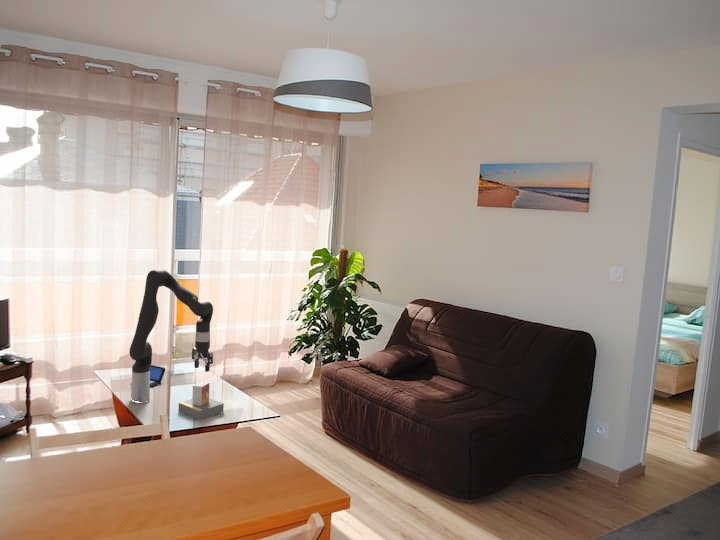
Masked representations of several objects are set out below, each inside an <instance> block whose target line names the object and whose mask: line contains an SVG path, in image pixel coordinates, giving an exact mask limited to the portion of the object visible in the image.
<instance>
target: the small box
mask: <svg viewBox="0 0 720 540" xmlns="http://www.w3.org/2000/svg"><path fill="white" fill-rule="evenodd" d="M210 384H211V383H210V382H206V381H199V382H198V383H195V384H194V385H192V405H198V406H202V405H204V404H206V403H207V402H209V398H210Z"/></svg>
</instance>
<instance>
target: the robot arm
mask: <svg viewBox="0 0 720 540" xmlns="http://www.w3.org/2000/svg"><path fill="white" fill-rule="evenodd" d="M160 287H161V288H162V287H165V288H166V289H169V290H171V291H172V293H174V295H175V297H176V299H177V300H178V301H179V302H181V303H182V304H184V305H185V306H187V307H188V308H189V309H190V311H191V312H192V313H193V315H195V316H197V317H200V318H199V319H198V320H197V321H196V322H195V337H194V338H195V340H194V343H195V344H194V347H193V348H192V349H191V350H192V351H191V360H193V361H194V363H193V364H194V368H195V369H198V368H199V367H200V359H201V360H203V361H202V362H204V364H205V365H204V367H205V368H204V372H206V373H207V372H210V369H211V367H210V365H212V364H213V363H214V354H213V352H209V349H211V320H212V318H213V313H214V306H213V304H212V303H211V302H210V301H208V300H207V301H202V302H200V301H199V297H198V295H196V294H195V293H193V292H192V291H190V290H189V289H187V288H186V287H185V286H183V285H182V284H181V283H180V282H179V281H178V280H177V279H176V278H175V277H174V276H173V275H172V274H171V273H170V272H169V271H167V270H165V269H161V268H160V269H153V270H150V271H149V272H148V274H147V275H146V281H145V287H144V295H143V298H142V302H141V306H140V310H139V311H140V312H139V315H138V320H137V325H136V328H135V332H134V336H133V339H132V341H131V343H130V347H129V352H128V353H129V357H130V358H131V359H132V360H133V361H134V363H133V365H132V366H131V381H132V384H131V383H130V385H131V386H130V397H131V398H132V400H134V401H139V402H146V401H148V402H150V395H151V394H150V389H151V388H150V366H151V365H152V362H153V347H152V344H151V343H150V342H148V337H149V335H150V334H151V332H152V330H153V329H154V327H155V325H156V323H157V319H158V316H159V304H158V301H157V295H158V290H159V288H160ZM131 398H130V399H131ZM132 400H131V401H132ZM146 403H147V402H146Z"/></svg>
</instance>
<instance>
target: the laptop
mask: <svg viewBox="0 0 720 540" xmlns="http://www.w3.org/2000/svg"><path fill="white" fill-rule="evenodd" d="M165 373H166V367H162V366H157V365H152V364H151V366H150V387H152V388H154V387H157V386H159V385H161V384H162V381H163V378H164V375H165Z"/></svg>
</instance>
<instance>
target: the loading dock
mask: <svg viewBox="0 0 720 540" xmlns="http://www.w3.org/2000/svg"><path fill="white" fill-rule="evenodd" d="M192 399H193V398H192ZM192 399H188V400H185V401H178V413H180V414H182V415H185V416H187V417H189V418H192V419H194V420H197V421H202V420H205V419H208V418H211V417H213V416H217V415H219V413H220V414H222V413H221V412H223V413H224V407H225V406H224V403H223V402H221V401H218V400H216V399H213V398H210V397H209V402H207V403H206V404H204V405H202V406H198V405H192ZM216 414H217V415H216Z"/></svg>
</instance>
